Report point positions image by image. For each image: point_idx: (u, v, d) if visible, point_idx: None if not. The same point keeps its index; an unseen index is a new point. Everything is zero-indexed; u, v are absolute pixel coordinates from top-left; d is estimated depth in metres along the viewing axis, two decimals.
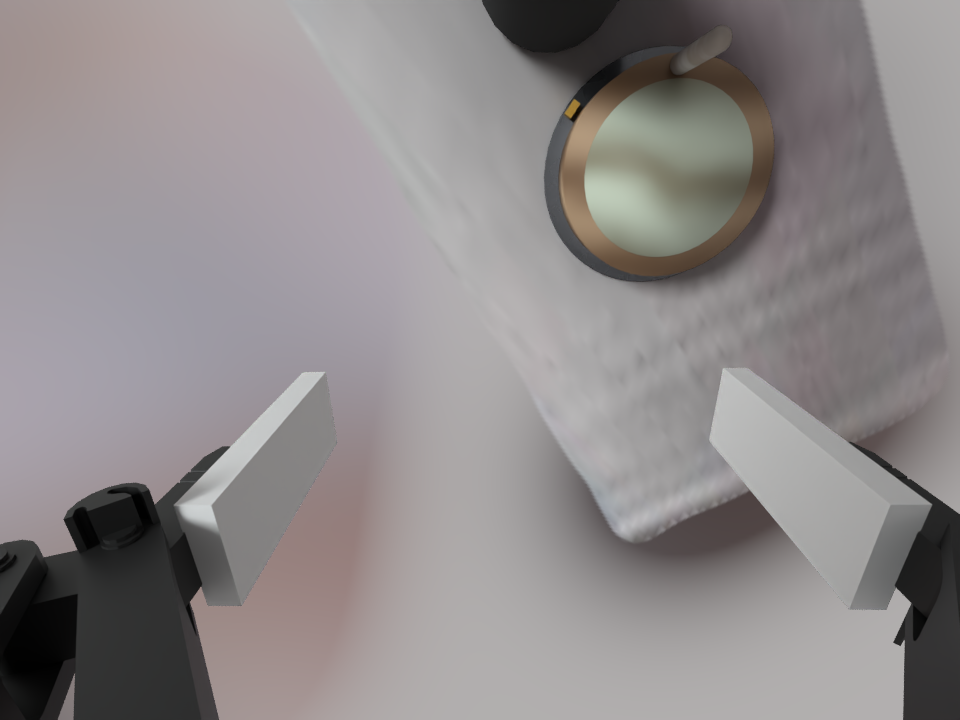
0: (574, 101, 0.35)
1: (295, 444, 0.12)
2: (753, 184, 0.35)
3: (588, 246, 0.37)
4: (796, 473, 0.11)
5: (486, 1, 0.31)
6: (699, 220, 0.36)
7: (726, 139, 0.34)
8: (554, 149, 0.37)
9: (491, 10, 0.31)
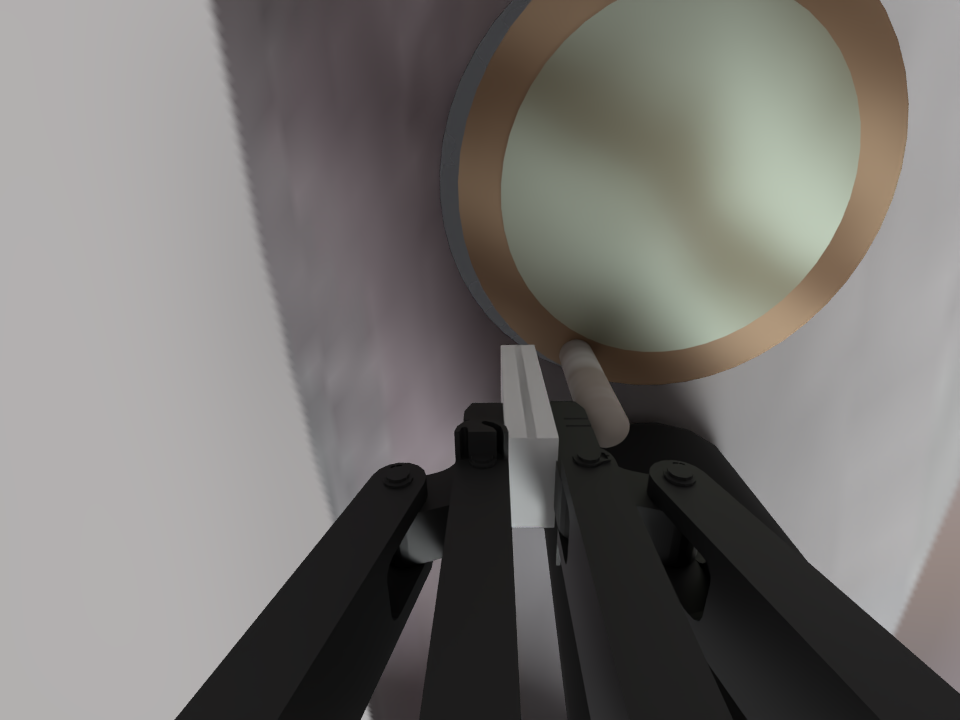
0: None
1: None
2: (520, 76, 0.15)
3: (904, 112, 0.15)
4: None
5: None
6: (656, 47, 0.15)
7: (545, 201, 0.17)
8: None
9: None
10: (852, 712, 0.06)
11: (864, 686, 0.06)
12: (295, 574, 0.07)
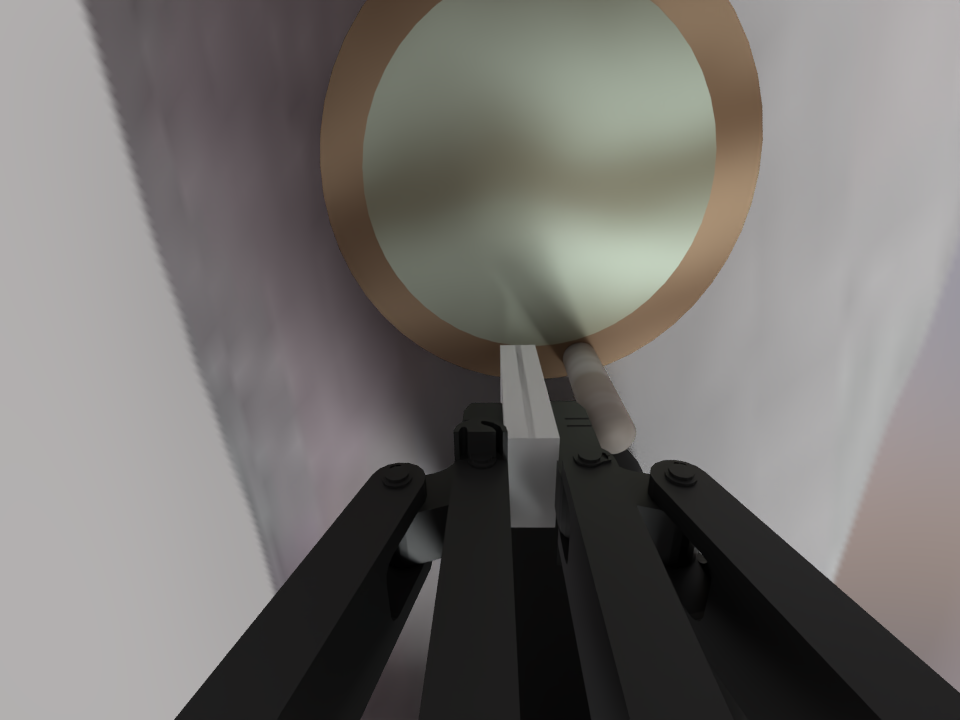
0: None
1: None
2: (357, 215, 0.17)
3: None
4: None
5: None
6: (425, 107, 0.16)
7: (450, 275, 0.18)
8: None
9: None
10: (851, 712, 0.06)
11: (865, 686, 0.06)
12: (294, 574, 0.07)
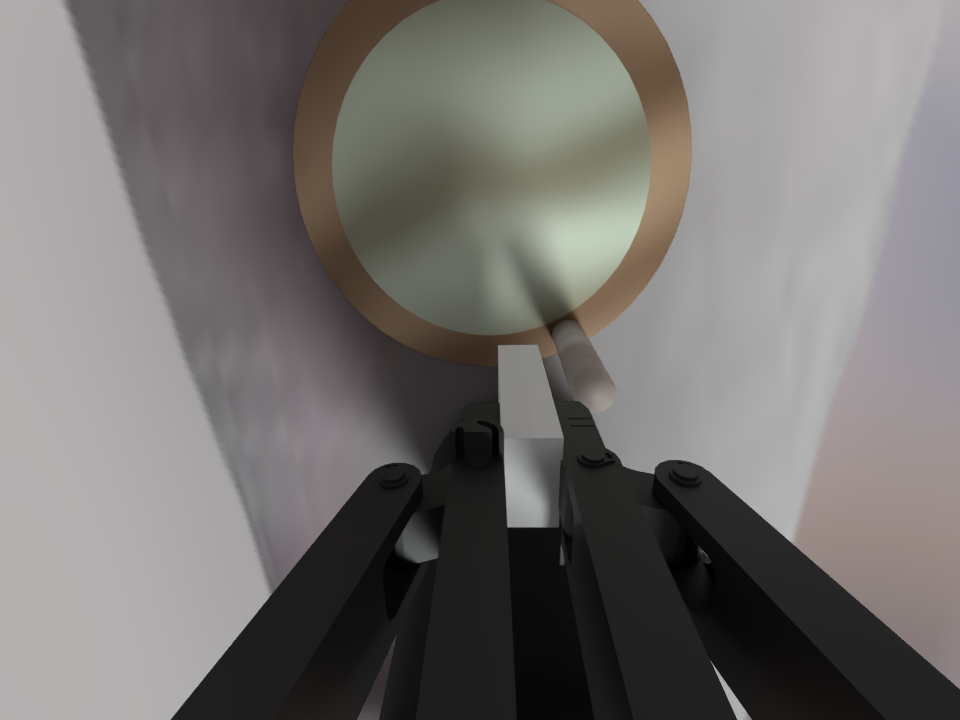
0: None
1: None
2: (342, 249, 0.19)
3: None
4: None
5: None
6: (378, 142, 0.18)
7: (434, 284, 0.20)
8: None
9: None
10: (857, 712, 0.06)
11: (870, 687, 0.06)
12: (290, 574, 0.07)
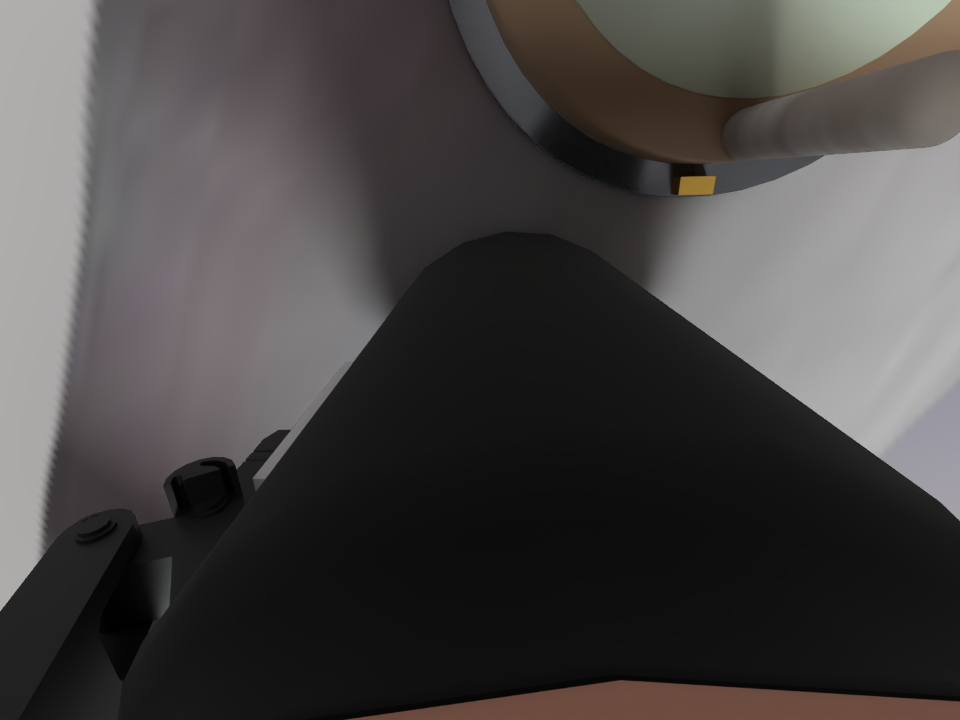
0: (682, 191, 0.16)
1: None
2: None
3: None
4: None
5: None
6: None
7: None
8: (776, 164, 0.16)
9: None
10: None
11: None
12: None
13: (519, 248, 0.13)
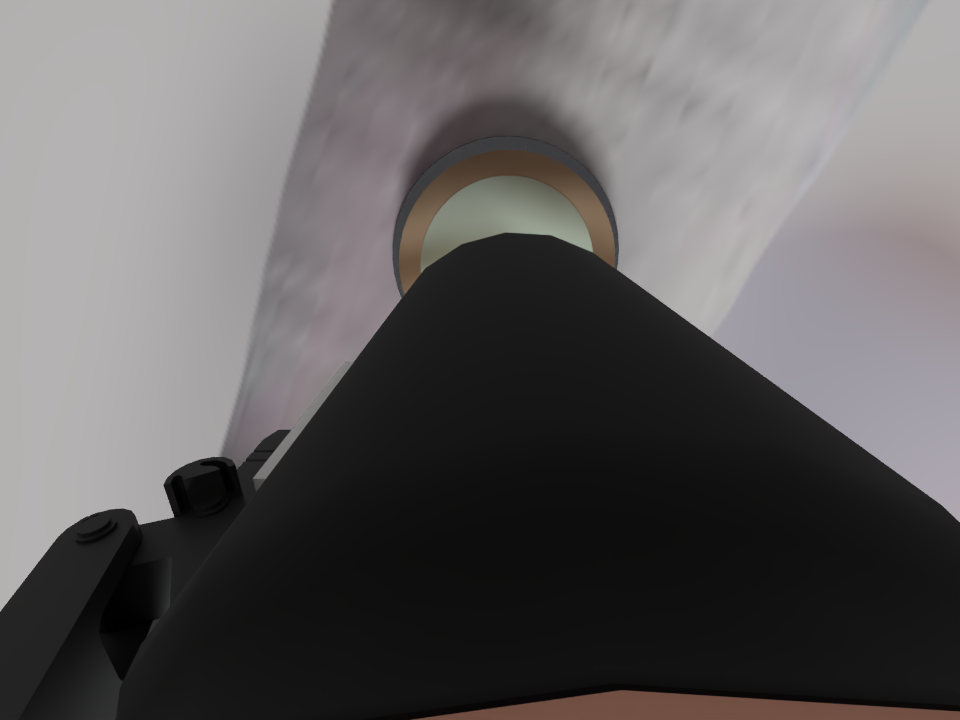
0: None
1: None
2: (414, 259, 0.33)
3: (586, 186, 0.31)
4: None
5: None
6: (463, 220, 0.32)
7: None
8: None
9: None
10: None
11: None
12: None
13: (519, 249, 0.13)
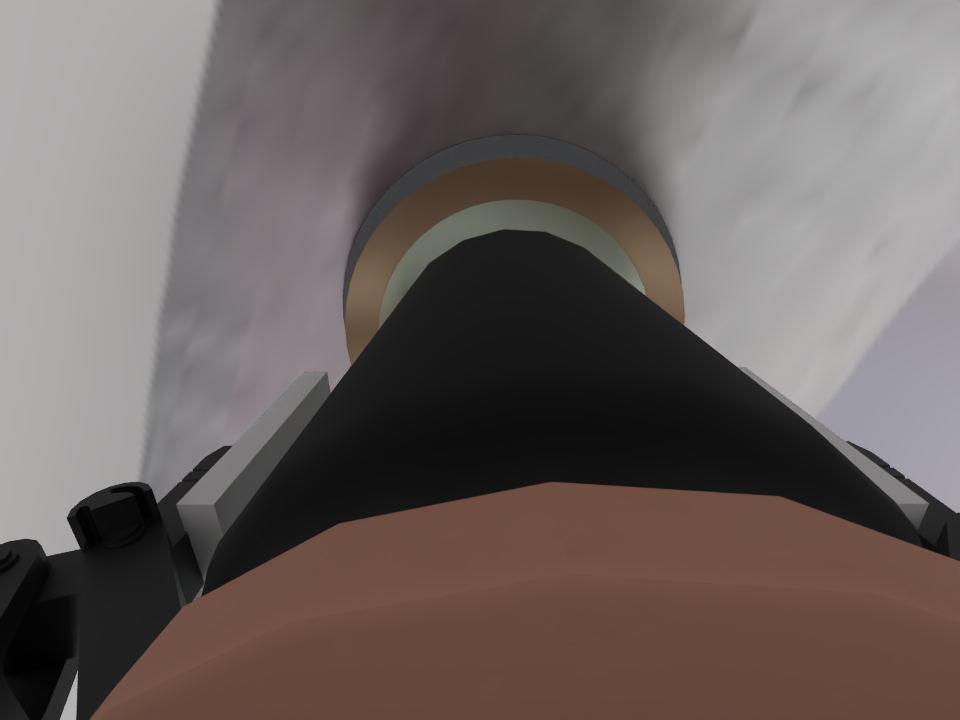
0: None
1: None
2: (369, 326, 0.21)
3: (645, 218, 0.19)
4: None
5: None
6: None
7: None
8: None
9: None
10: None
11: None
12: None
13: (515, 244, 0.14)
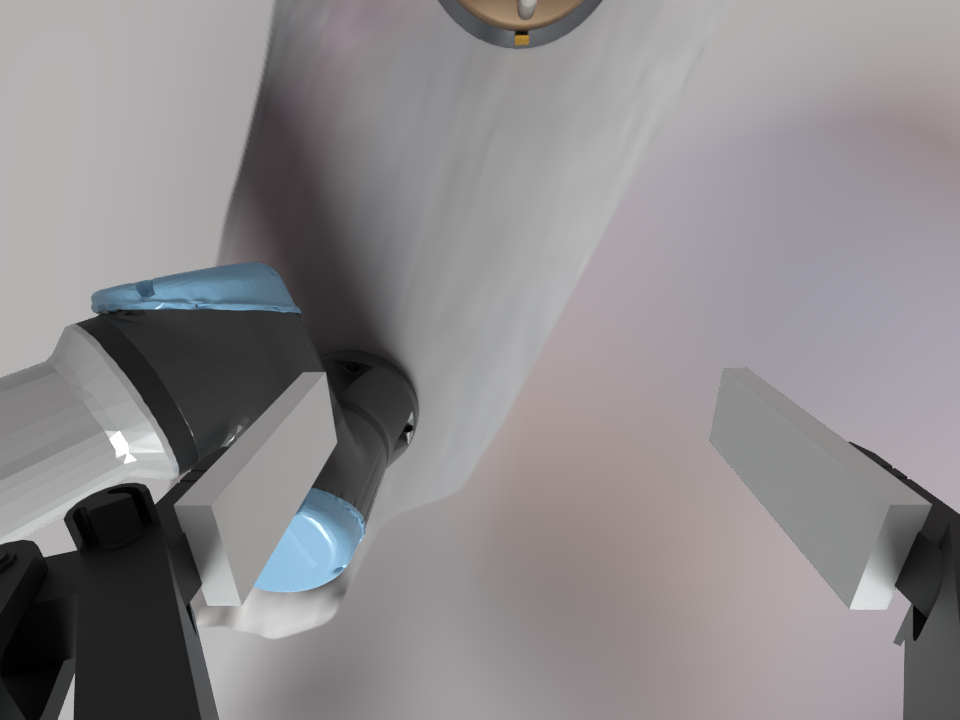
0: (516, 41, 0.39)
1: (295, 444, 0.12)
2: None
3: None
4: (796, 473, 0.11)
5: None
6: None
7: None
8: (556, 32, 0.40)
9: None
10: None
11: None
12: None
13: None
